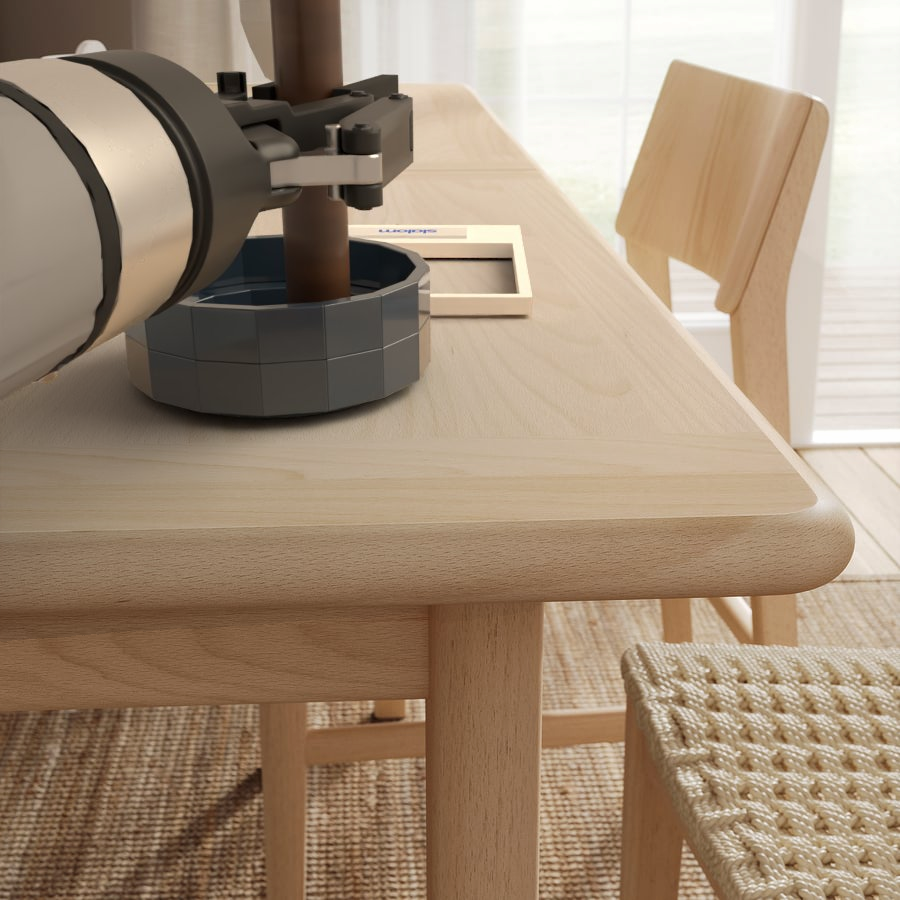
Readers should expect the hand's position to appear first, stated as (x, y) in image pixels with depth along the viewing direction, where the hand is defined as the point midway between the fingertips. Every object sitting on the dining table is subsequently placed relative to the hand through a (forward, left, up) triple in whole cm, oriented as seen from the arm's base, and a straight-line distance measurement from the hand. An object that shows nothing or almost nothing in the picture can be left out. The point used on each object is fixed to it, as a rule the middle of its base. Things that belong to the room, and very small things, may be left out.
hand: (353, 104), depth 53 cm
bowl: (0, -6, -11) cm, 13 cm away
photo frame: (-6, +12, -11) cm, 17 cm away
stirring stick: (+2, -5, -9) cm, 11 cm away
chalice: (-27, +27, -11) cm, 40 cm away
